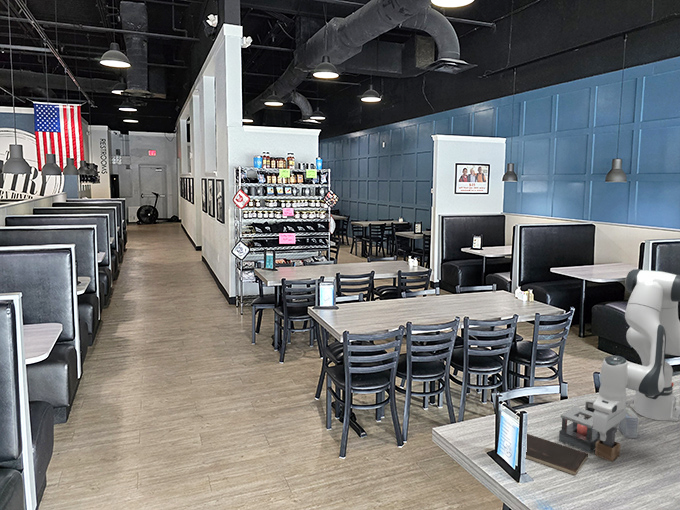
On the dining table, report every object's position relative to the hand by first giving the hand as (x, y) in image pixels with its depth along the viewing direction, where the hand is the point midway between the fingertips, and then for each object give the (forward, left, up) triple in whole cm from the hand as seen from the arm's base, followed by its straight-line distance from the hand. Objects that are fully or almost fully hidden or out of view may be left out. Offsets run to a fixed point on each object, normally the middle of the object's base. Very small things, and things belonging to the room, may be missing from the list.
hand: (608, 436), depth 187 cm
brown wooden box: (0, 0, -8) cm, 8 cm away
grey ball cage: (-3, -11, -8) cm, 14 cm away
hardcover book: (+16, -14, -8) cm, 23 cm away
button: (-3, -11, -6) cm, 13 cm away
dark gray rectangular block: (0, 0, -7) cm, 7 cm away
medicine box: (-24, -2, -8) cm, 25 cm away
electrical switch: (-24, -14, -8) cm, 29 cm away
